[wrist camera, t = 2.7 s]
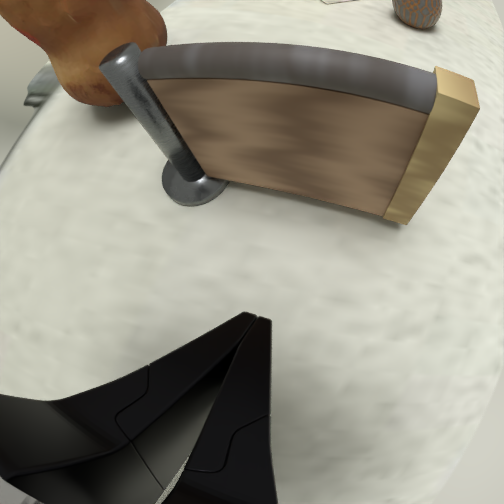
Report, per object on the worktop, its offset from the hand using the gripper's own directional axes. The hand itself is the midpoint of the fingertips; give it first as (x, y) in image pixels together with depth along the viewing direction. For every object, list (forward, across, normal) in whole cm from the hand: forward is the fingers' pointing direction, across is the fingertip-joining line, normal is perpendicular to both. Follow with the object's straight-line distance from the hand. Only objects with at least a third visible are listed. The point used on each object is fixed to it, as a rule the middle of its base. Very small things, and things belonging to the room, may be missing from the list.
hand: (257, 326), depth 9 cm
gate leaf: (+15, +2, 0) cm, 15 cm away
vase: (+38, -7, -21) cm, 44 cm away
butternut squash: (+24, +25, -6) cm, 35 cm away
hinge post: (+16, +11, +1) cm, 19 cm away
